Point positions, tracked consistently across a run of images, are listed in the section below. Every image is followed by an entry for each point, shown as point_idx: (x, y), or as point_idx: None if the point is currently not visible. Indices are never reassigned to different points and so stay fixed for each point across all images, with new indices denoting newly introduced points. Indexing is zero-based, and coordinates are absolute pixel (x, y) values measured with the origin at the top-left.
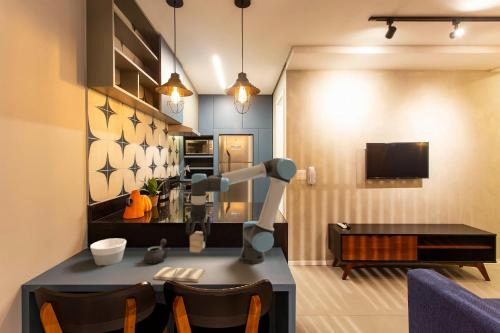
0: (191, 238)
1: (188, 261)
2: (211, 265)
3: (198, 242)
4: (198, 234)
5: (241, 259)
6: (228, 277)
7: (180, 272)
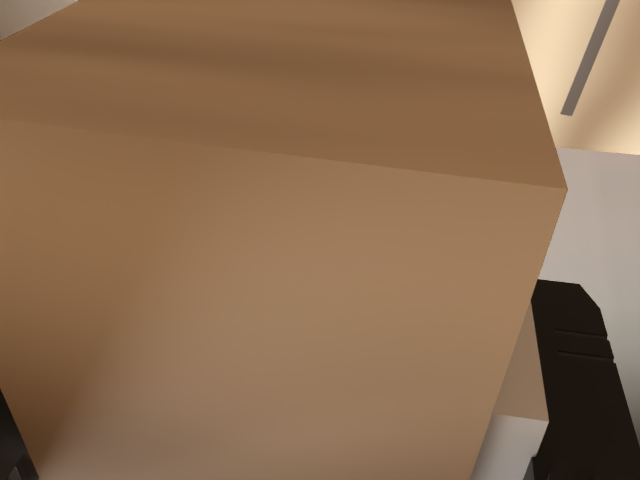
0: (446, 106)
1: None
2: None
3: (113, 7)
4: (169, 441)
5: None
6: (35, 4)
7: (632, 28)
